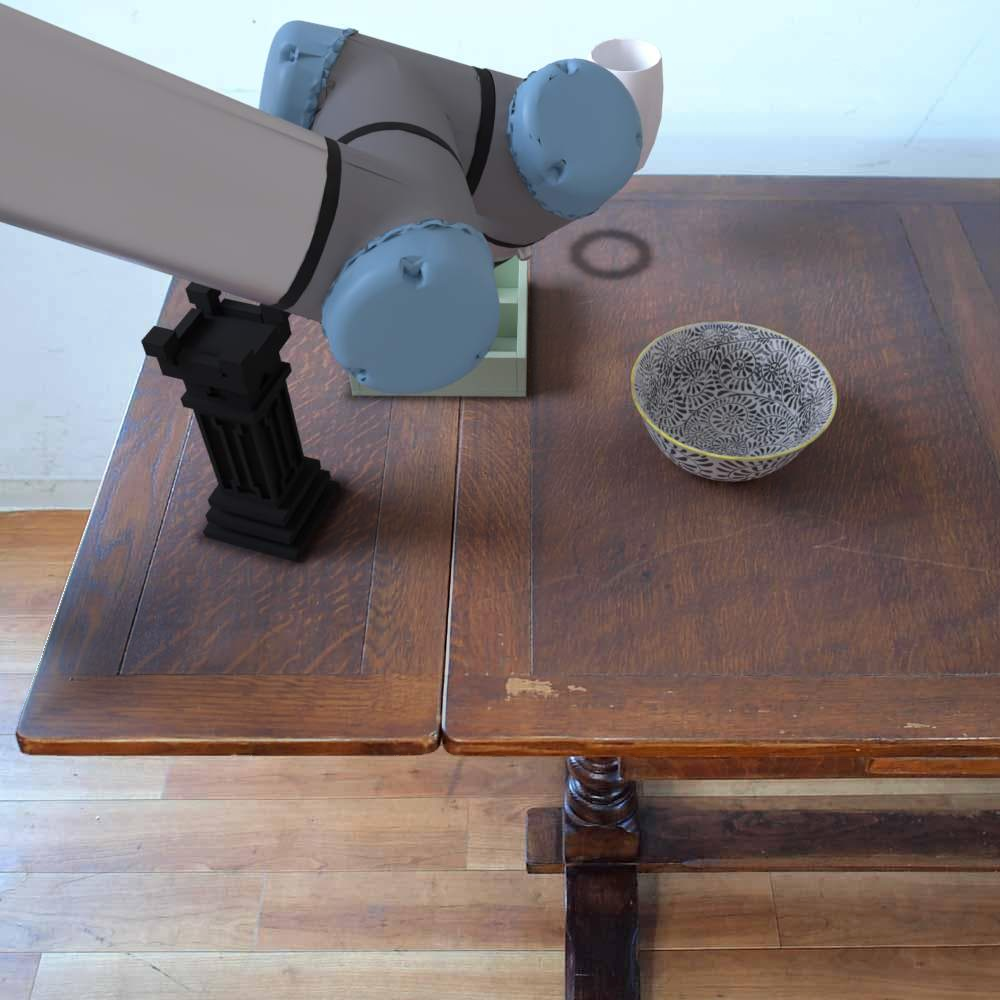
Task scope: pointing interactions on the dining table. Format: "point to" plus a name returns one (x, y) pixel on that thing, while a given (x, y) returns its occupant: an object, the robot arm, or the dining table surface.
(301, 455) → the chess piece
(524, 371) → the grid
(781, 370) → the bowl
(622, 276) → the dining table surface
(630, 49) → the cup
